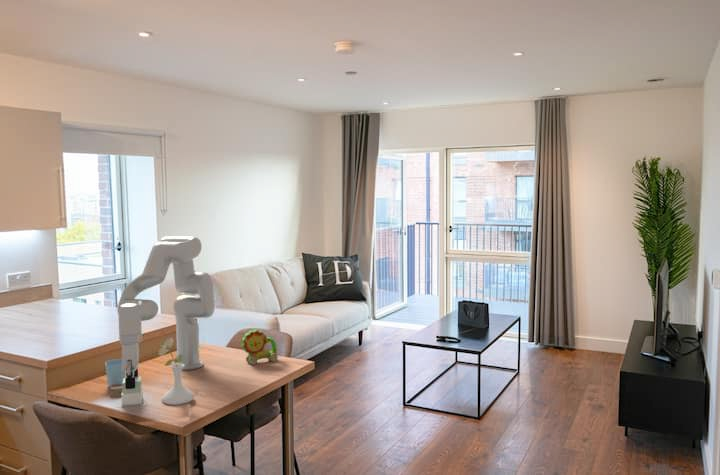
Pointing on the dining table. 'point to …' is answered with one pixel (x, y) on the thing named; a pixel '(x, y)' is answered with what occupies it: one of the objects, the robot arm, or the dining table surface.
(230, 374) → the dining table surface
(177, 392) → the flower in vase
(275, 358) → the toy lion
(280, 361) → the dining table surface
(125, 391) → the sage brick
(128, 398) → the cream brick
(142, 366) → the dining table surface
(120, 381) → the cup
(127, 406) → the build plate
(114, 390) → the walnut brick
